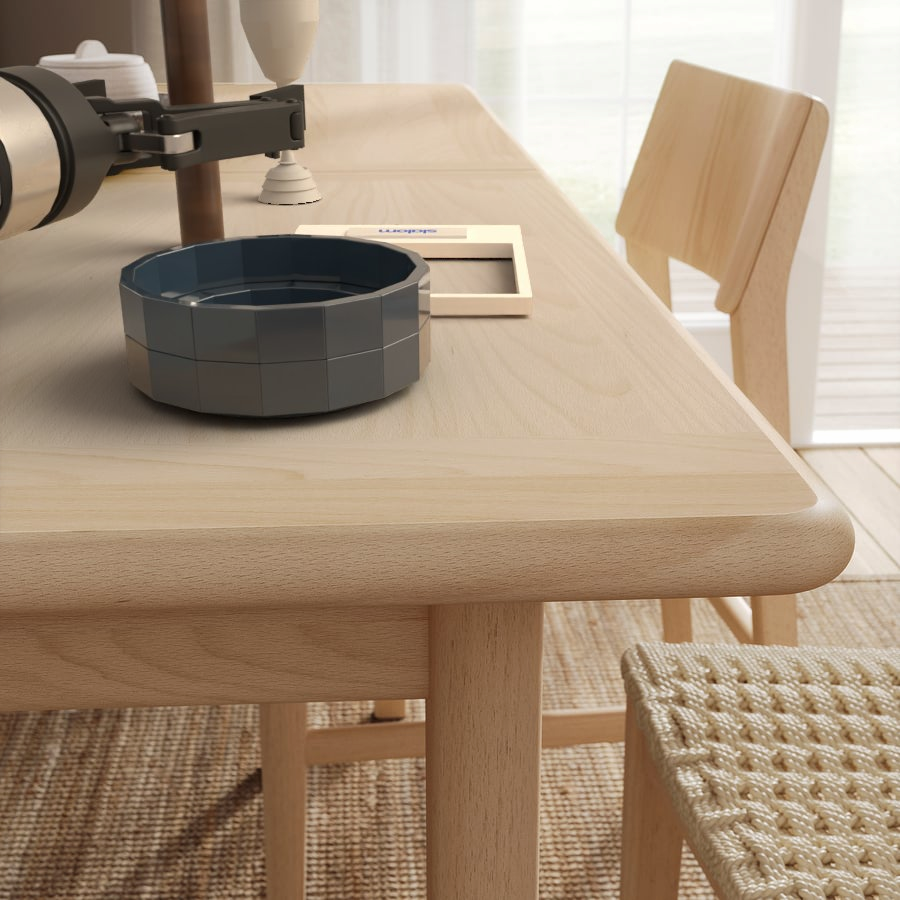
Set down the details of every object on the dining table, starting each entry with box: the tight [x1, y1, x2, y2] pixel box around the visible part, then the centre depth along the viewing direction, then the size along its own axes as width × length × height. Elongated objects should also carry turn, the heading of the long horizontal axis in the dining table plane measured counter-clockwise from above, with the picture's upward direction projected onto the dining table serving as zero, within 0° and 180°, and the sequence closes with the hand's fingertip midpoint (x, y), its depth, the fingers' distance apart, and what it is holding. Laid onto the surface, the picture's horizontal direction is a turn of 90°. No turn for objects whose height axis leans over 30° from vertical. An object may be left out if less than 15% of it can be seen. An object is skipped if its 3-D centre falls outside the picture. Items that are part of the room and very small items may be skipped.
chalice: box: [238, 0, 323, 205], centre depth 89 cm, size 7×7×18 cm
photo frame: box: [293, 224, 534, 316], centre depth 70 cm, size 15×1×18 cm
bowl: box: [118, 233, 432, 419], centre depth 52 cm, size 13×13×5 cm
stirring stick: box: [158, 0, 226, 246], centre depth 74 cm, size 3×3×16 cm
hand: (198, 104), depth 74 cm, fingers open, 13 cm apart
